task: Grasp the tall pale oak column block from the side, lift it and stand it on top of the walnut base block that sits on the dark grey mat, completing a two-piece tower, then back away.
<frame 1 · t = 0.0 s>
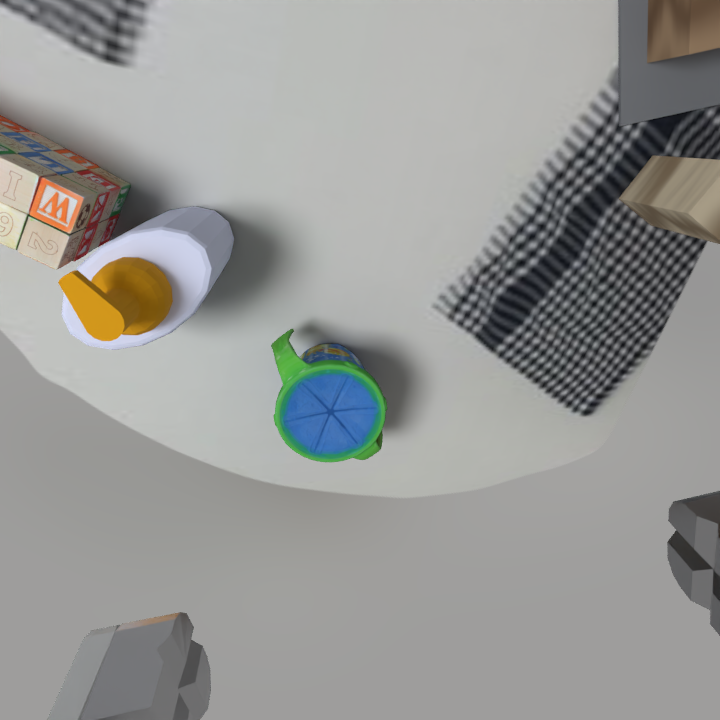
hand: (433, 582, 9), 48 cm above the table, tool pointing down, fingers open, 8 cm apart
snack cup: (327, 371, 60), on the table
mat: (676, 20, 49), on the table
walnut block: (690, 4, 48), resting on mat
stack of blocks: (7, 154, 49), on the table
oak column: (651, 191, 55), on the table
soap bottle: (175, 255, 54), on the table
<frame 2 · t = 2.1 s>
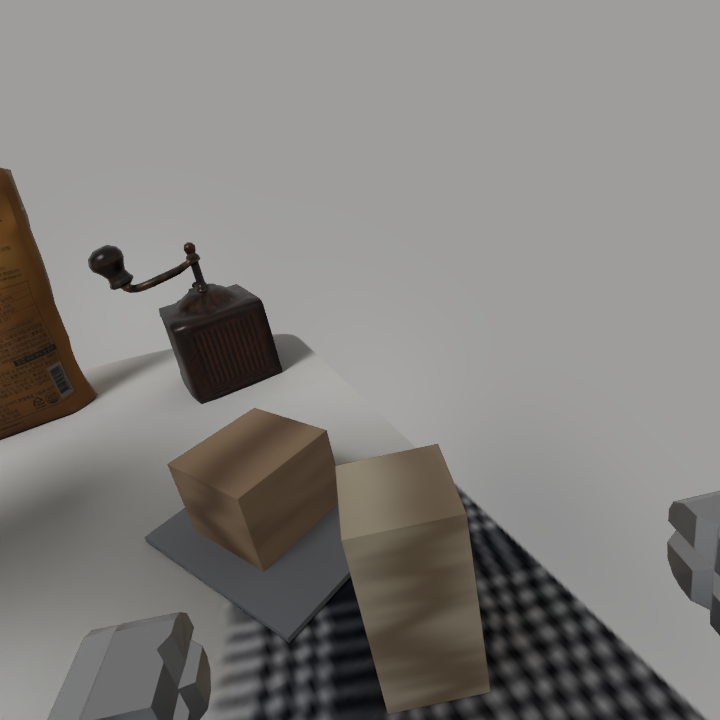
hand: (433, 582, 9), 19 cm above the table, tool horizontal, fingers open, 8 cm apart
mat: (269, 531, 39), on the table
walnut block: (269, 513, 40), resting on mat
oak column: (428, 655, 28), on the table
manual coffee grinder: (211, 383, 65), on the table
pancake mix bag: (27, 426, 64), on the table
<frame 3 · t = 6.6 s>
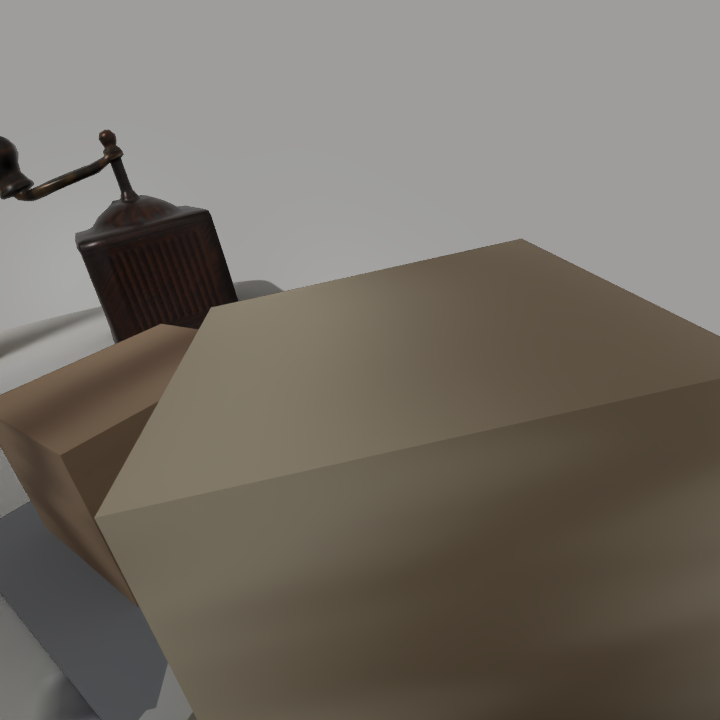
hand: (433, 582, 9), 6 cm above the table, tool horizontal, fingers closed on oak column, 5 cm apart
mat: (172, 528, 21), on the table
walnut block: (176, 498, 23), resting on mat
manual coffee grinder: (148, 334, 48), on the table
when the fingers open (14 cm above the table, at t = 10.7 s): oak column drops 1 cm, resting on walnut block.
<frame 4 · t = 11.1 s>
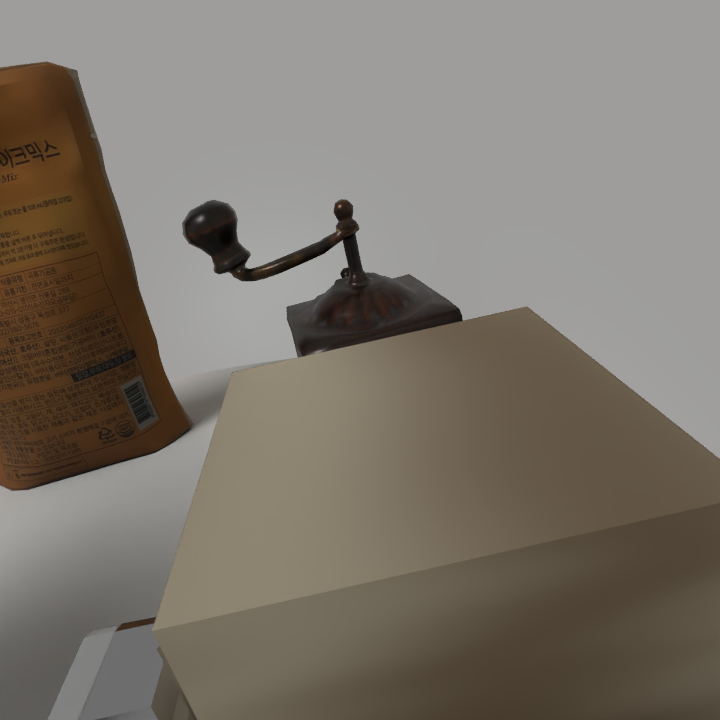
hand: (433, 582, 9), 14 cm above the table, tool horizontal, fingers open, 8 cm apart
manual coffee grinder: (355, 432, 40), on the table
pancake mix bag: (95, 463, 44), on the table
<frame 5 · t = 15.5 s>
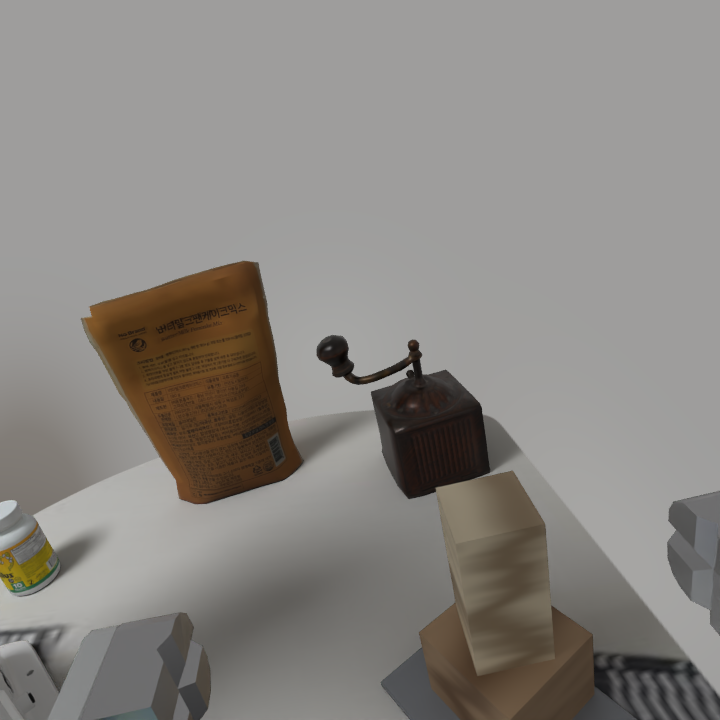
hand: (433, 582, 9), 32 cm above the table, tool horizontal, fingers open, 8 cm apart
supplement bottle: (37, 579, 60), on the table
mat: (512, 714, 37), on the table
walnut block: (510, 691, 38), resting on mat, touching oak column
oak column: (502, 633, 36), point 6 cm above the table, touching walnut block
manual coffee grinder: (413, 469, 65), on the table
pancake mix bag: (243, 486, 69), on the table
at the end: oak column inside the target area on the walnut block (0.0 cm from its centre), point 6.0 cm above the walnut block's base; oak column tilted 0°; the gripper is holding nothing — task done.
